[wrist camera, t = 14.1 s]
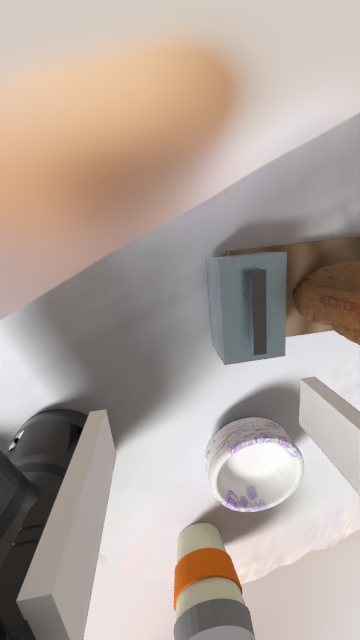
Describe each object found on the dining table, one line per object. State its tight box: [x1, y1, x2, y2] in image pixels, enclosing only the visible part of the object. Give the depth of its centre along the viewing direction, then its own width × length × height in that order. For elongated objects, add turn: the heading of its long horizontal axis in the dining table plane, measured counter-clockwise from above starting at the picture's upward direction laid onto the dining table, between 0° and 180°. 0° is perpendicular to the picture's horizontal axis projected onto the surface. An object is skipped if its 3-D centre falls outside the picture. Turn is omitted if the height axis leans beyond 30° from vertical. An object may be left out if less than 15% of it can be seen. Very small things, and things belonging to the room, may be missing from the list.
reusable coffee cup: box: [174, 522, 255, 640], centre depth 44 cm, size 13×13×15 cm
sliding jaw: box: [206, 252, 287, 365], centre depth 32 cm, size 8×13×8 cm, turn 6°
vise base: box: [227, 237, 360, 337], centre depth 34 cm, size 25×14×8 cm, turn 96°
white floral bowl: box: [205, 417, 304, 512], centre depth 41 cm, size 15×15×8 cm
